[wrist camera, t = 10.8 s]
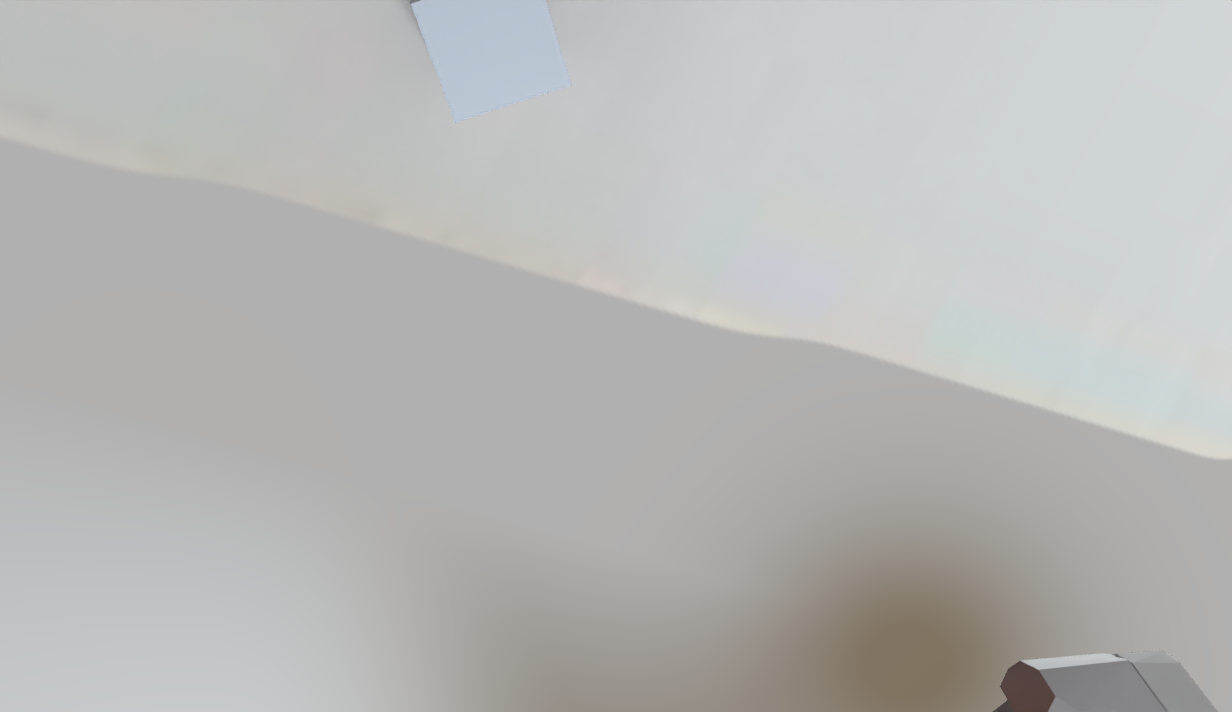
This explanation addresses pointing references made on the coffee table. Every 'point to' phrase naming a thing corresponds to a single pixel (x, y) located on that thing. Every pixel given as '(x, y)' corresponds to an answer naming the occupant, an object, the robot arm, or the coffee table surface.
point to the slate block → (491, 52)
